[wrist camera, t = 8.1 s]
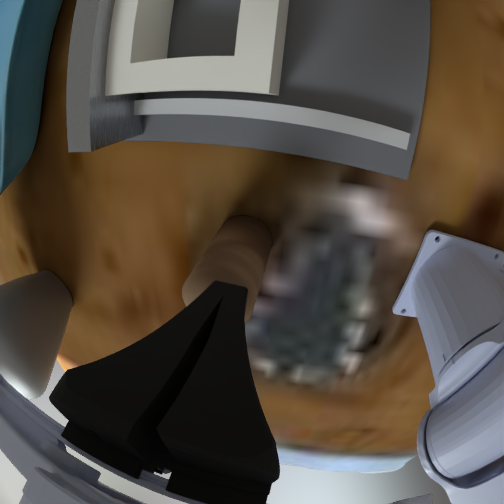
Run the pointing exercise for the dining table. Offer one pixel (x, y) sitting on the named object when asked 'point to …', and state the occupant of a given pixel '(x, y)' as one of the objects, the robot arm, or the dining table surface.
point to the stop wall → (95, 84)
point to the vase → (32, 330)
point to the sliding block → (200, 67)
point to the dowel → (233, 260)
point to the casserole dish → (22, 78)
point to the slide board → (307, 83)
